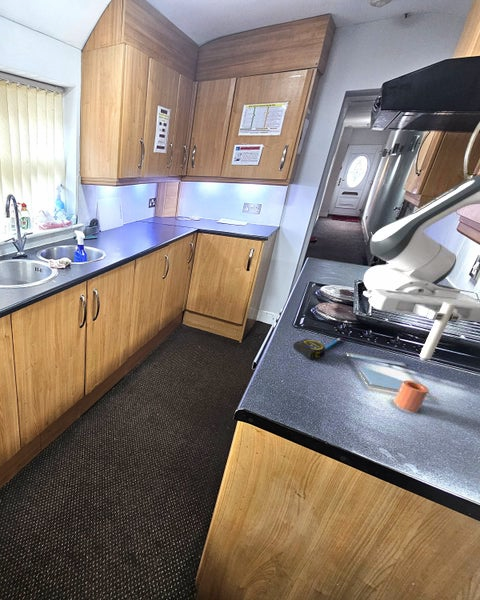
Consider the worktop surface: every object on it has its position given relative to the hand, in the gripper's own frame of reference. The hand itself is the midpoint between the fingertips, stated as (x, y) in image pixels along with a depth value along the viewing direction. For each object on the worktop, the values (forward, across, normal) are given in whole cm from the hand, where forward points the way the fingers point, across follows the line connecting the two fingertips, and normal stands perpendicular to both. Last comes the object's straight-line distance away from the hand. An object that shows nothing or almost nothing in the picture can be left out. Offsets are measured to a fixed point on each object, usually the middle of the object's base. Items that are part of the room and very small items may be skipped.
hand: (447, 318), depth 70 cm
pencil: (-26, -8, +24) cm, 36 cm away
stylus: (-1, 0, +11) cm, 11 cm away
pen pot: (0, 0, +24) cm, 24 cm away
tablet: (-14, +2, +24) cm, 27 cm away
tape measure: (-18, -15, +23) cm, 33 cm away
